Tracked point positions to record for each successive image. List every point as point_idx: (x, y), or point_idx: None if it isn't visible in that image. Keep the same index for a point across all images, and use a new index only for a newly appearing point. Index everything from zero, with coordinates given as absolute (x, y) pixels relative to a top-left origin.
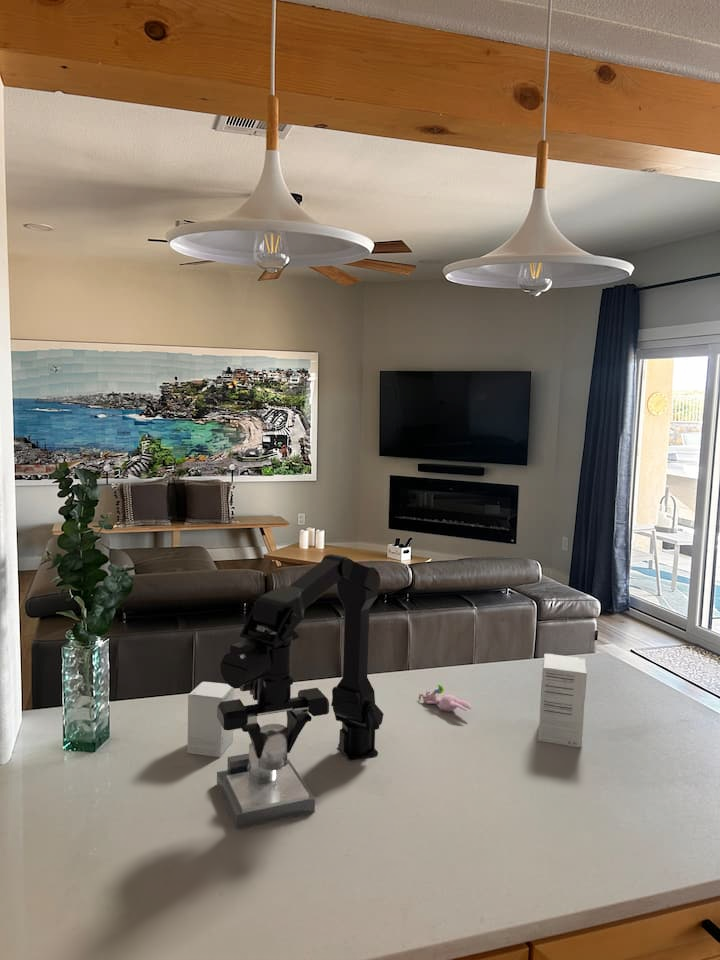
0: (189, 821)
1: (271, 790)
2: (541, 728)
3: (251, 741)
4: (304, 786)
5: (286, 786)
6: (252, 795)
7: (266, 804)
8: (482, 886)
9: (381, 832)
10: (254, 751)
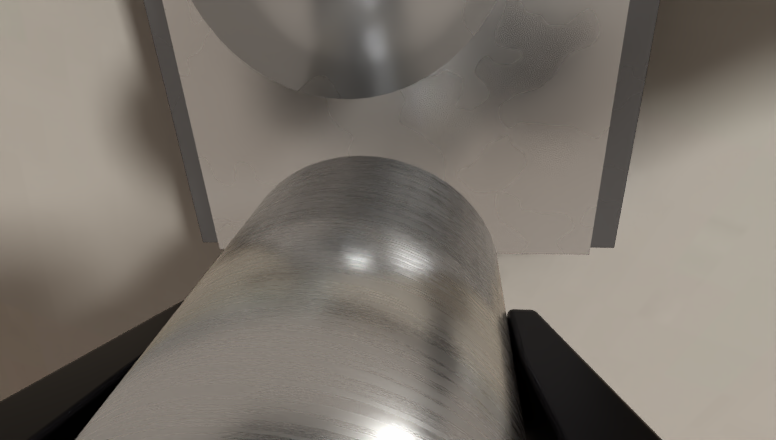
0: (24, 89)
1: (399, 138)
2: None
3: (23, 393)
4: (626, 108)
5: (502, 125)
6: (282, 149)
7: None
8: None
9: (765, 413)
10: (217, 35)
